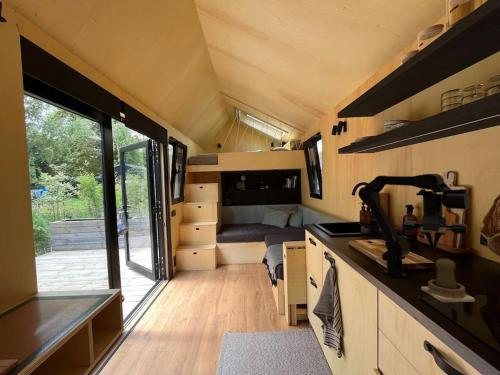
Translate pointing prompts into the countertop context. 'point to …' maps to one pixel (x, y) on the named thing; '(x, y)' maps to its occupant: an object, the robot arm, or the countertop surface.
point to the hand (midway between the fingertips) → (433, 250)
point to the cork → (445, 274)
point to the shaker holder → (447, 292)
